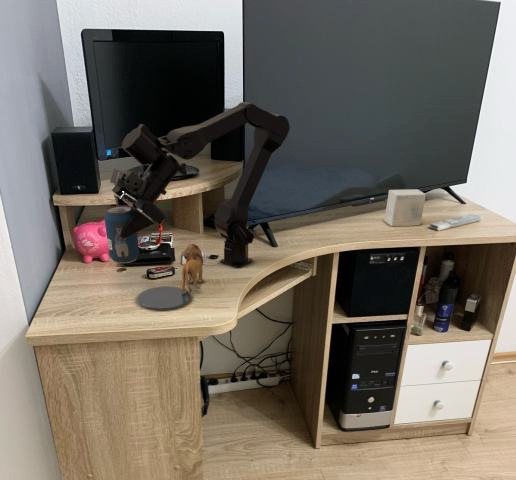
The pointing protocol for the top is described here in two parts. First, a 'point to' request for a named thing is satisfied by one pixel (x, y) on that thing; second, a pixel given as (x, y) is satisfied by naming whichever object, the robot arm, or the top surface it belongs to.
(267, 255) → the top surface
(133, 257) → the soda can
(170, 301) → the coaster
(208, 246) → the top surface
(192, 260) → the lion figurine
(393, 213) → the cosmetics box
